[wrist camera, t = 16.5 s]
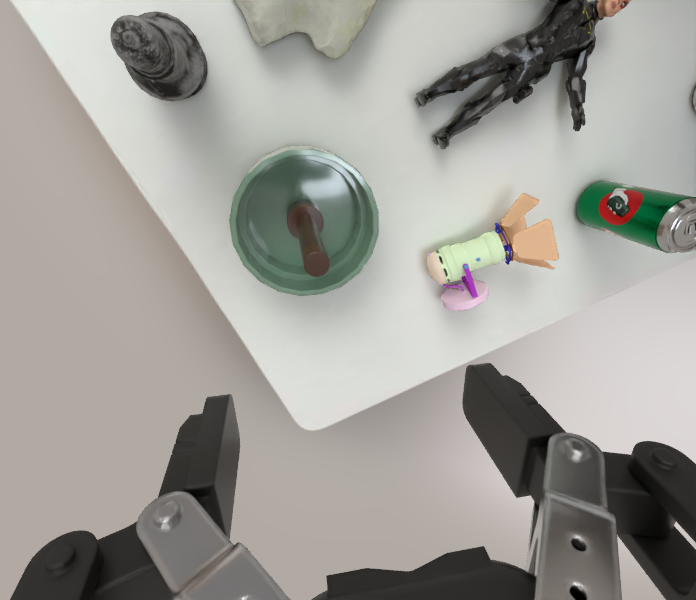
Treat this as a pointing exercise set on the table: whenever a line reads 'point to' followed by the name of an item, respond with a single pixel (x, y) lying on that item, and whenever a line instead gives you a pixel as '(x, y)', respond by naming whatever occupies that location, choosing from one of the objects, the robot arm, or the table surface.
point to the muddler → (309, 236)
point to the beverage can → (694, 99)
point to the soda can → (640, 215)
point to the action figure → (527, 64)
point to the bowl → (271, 218)
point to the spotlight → (492, 255)
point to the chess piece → (160, 54)
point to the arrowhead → (308, 21)
